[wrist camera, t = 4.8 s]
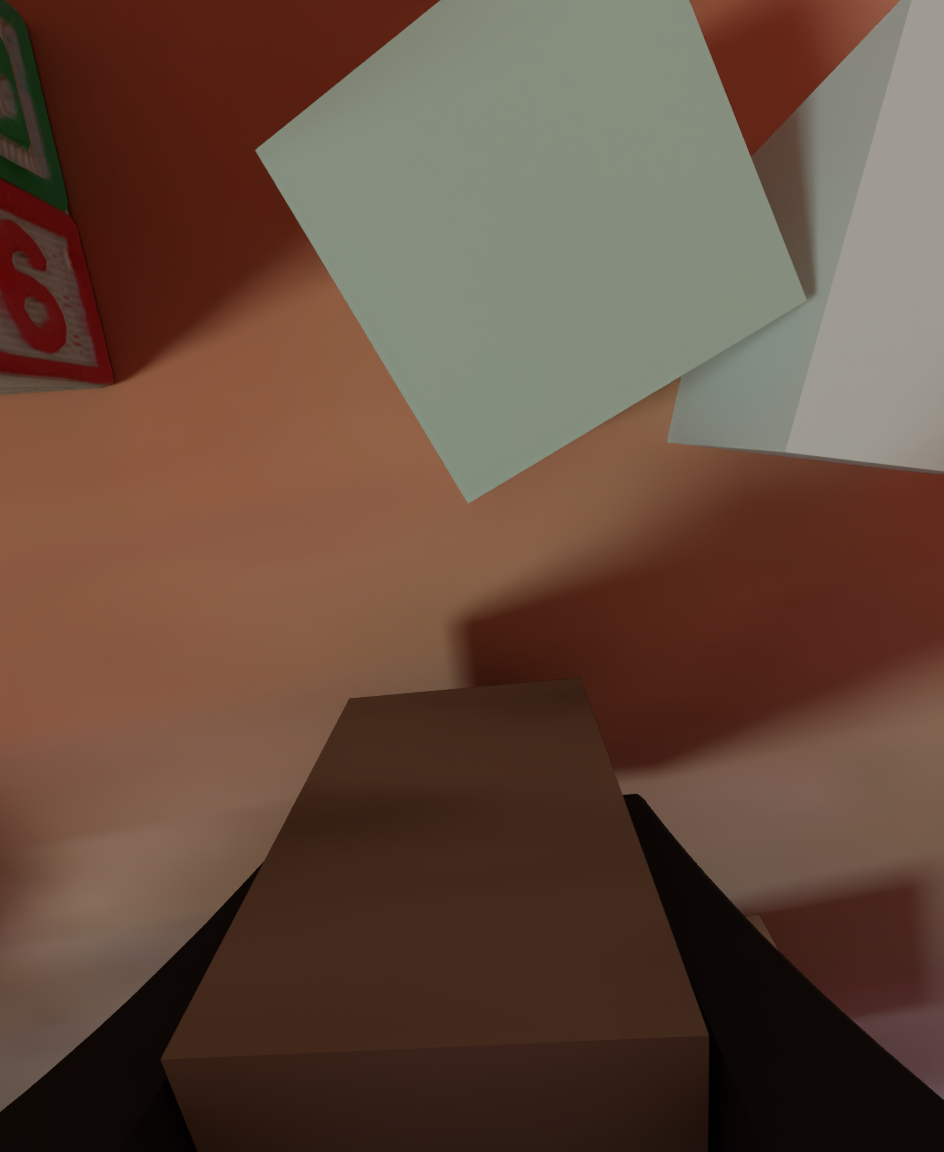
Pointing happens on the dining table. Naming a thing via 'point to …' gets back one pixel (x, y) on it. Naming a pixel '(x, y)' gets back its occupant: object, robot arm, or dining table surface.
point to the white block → (848, 271)
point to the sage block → (536, 218)
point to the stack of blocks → (39, 243)
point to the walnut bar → (450, 951)
